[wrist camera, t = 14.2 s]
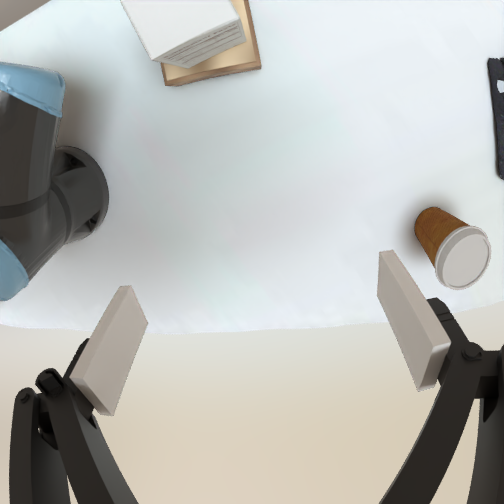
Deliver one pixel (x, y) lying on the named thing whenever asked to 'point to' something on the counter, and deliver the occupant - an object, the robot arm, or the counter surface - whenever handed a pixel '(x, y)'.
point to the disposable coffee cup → (453, 248)
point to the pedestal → (221, 56)
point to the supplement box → (185, 28)
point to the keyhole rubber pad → (498, 106)
